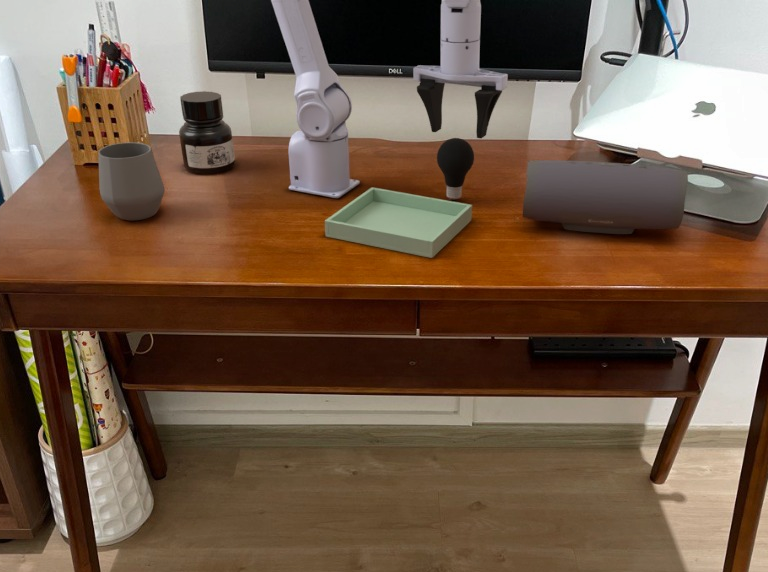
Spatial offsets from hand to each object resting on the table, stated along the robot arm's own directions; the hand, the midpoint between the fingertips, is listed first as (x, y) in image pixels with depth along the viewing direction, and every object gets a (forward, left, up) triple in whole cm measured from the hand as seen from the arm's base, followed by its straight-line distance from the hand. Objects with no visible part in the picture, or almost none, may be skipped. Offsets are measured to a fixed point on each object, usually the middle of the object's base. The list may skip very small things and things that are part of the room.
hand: (458, 133), depth 128 cm
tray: (-3, -14, -11) cm, 18 cm away
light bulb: (0, 0, -11) cm, 11 cm away
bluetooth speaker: (+24, -1, -11) cm, 26 cm away
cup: (-42, -27, -11) cm, 51 cm away
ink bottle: (-45, -4, -11) cm, 47 cm away
